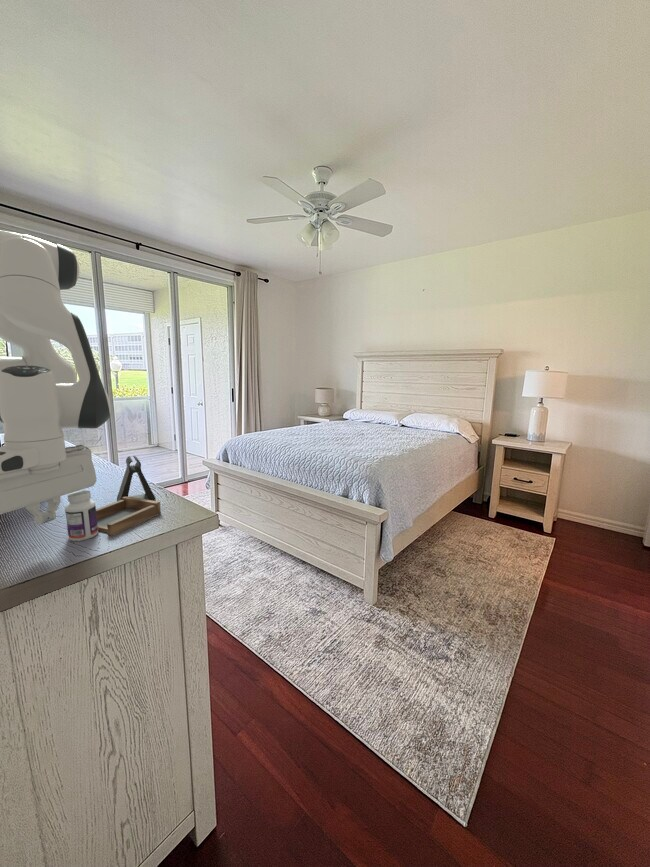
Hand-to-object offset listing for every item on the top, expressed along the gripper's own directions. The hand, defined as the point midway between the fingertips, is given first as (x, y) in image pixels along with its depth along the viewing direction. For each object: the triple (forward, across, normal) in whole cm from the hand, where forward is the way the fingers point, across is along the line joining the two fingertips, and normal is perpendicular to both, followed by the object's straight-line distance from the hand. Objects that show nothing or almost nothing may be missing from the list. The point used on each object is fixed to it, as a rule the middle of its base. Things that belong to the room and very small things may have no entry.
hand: (45, 521), depth 70 cm
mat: (+6, -16, 0) cm, 17 cm away
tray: (+6, -16, 0) cm, 17 cm away
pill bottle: (+6, -7, 0) cm, 9 cm away
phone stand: (+6, -28, -8) cm, 30 cm away
